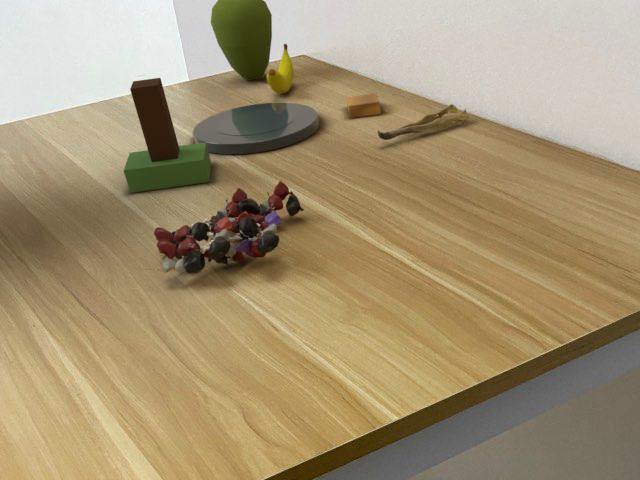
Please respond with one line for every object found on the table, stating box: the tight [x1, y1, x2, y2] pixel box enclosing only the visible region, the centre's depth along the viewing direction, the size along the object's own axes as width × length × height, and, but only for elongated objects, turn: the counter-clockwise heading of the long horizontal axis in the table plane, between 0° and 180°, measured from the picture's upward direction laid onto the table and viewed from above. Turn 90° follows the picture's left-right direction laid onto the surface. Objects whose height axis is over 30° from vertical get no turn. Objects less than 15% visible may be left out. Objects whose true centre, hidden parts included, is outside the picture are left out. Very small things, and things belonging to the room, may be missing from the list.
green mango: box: [210, 0, 273, 81], centre depth 118 cm, size 9×8×12 cm
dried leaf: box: [377, 104, 470, 141], centre depth 97 cm, size 4×13×2 cm, turn 125°
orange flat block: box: [346, 92, 382, 119], centre depth 105 cm, size 4×4×2 cm
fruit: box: [266, 43, 294, 94], centre depth 114 cm, size 10×2×5 cm, turn 174°
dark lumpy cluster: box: [153, 180, 304, 274], centre depth 76 cm, size 15×14×5 cm
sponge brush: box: [123, 77, 212, 194], centre depth 90 cm, size 9×6×10 cm, turn 98°
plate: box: [192, 102, 320, 155], centre depth 103 cm, size 16×16×1 cm
